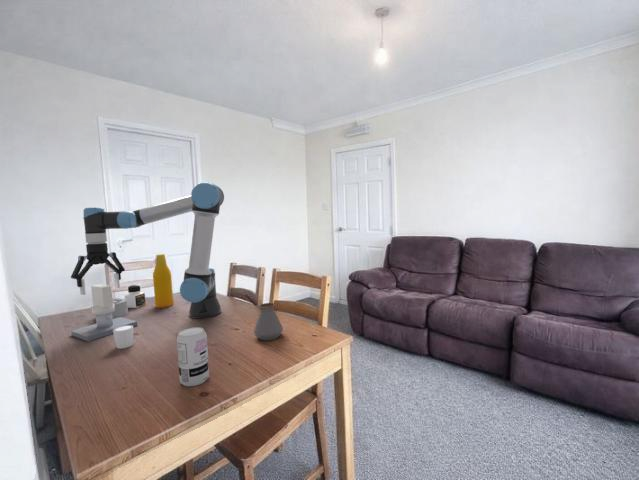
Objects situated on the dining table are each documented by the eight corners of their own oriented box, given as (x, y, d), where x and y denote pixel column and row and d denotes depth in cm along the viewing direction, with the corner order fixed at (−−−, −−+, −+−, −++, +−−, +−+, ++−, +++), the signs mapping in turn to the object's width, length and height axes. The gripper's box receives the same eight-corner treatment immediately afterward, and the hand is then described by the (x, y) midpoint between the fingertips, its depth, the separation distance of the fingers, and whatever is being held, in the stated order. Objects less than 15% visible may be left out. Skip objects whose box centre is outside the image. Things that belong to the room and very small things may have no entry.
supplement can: (185, 374, 98) (181, 327, 97) (212, 372, 98) (209, 325, 97) (175, 388, 90) (171, 337, 88) (205, 386, 90) (201, 335, 89)
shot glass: (139, 342, 125) (137, 325, 124) (123, 350, 118) (121, 332, 118) (126, 341, 127) (124, 324, 126) (110, 348, 121) (108, 330, 120)
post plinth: (137, 325, 145) (135, 308, 145) (87, 341, 128) (85, 322, 128) (120, 320, 153) (119, 304, 153) (71, 335, 136) (69, 317, 136)
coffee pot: (289, 335, 126) (287, 298, 124) (265, 345, 118) (263, 305, 116) (258, 324, 141) (256, 291, 139) (235, 331, 132) (233, 296, 131)
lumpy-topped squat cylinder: (97, 316, 163) (95, 300, 162) (126, 310, 171) (125, 295, 170) (99, 321, 155) (97, 304, 154) (129, 315, 163) (128, 298, 162)
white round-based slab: (119, 310, 141) (117, 284, 140) (98, 316, 134) (95, 288, 133) (106, 307, 147) (104, 282, 146) (86, 313, 140) (83, 286, 139)
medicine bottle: (136, 308, 175) (134, 286, 174) (125, 307, 176) (123, 286, 175) (145, 304, 182) (144, 284, 181) (135, 304, 183) (133, 284, 182)
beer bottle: (176, 302, 183) (172, 253, 180) (169, 307, 173) (164, 255, 171) (160, 303, 182) (156, 253, 180) (152, 308, 173) (147, 256, 171)
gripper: (122, 240, 150) (125, 284, 152) (58, 245, 129) (63, 296, 131) (130, 240, 146) (134, 285, 148) (65, 246, 125) (70, 298, 127)
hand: (100, 290), depth 139 cm, fingers open, 13 cm apart
